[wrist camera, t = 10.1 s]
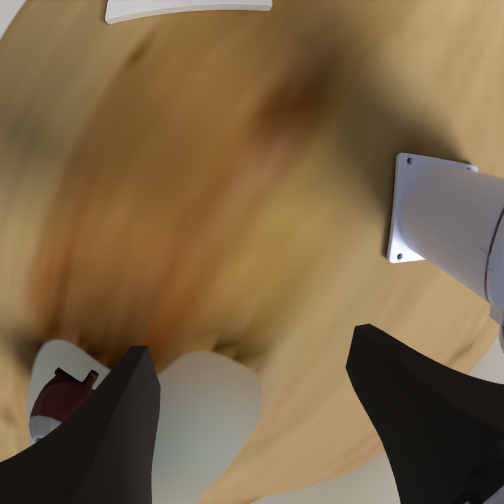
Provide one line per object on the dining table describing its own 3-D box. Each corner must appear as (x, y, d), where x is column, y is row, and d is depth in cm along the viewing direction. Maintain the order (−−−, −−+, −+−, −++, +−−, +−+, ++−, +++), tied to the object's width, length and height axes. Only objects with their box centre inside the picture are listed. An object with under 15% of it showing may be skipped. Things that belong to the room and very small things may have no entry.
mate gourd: (131, 389, 21) (107, 547, 7) (101, 421, 22) (78, 543, 9) (59, 343, 19) (-9, 492, 5) (40, 384, 20) (-7, 501, 6)
